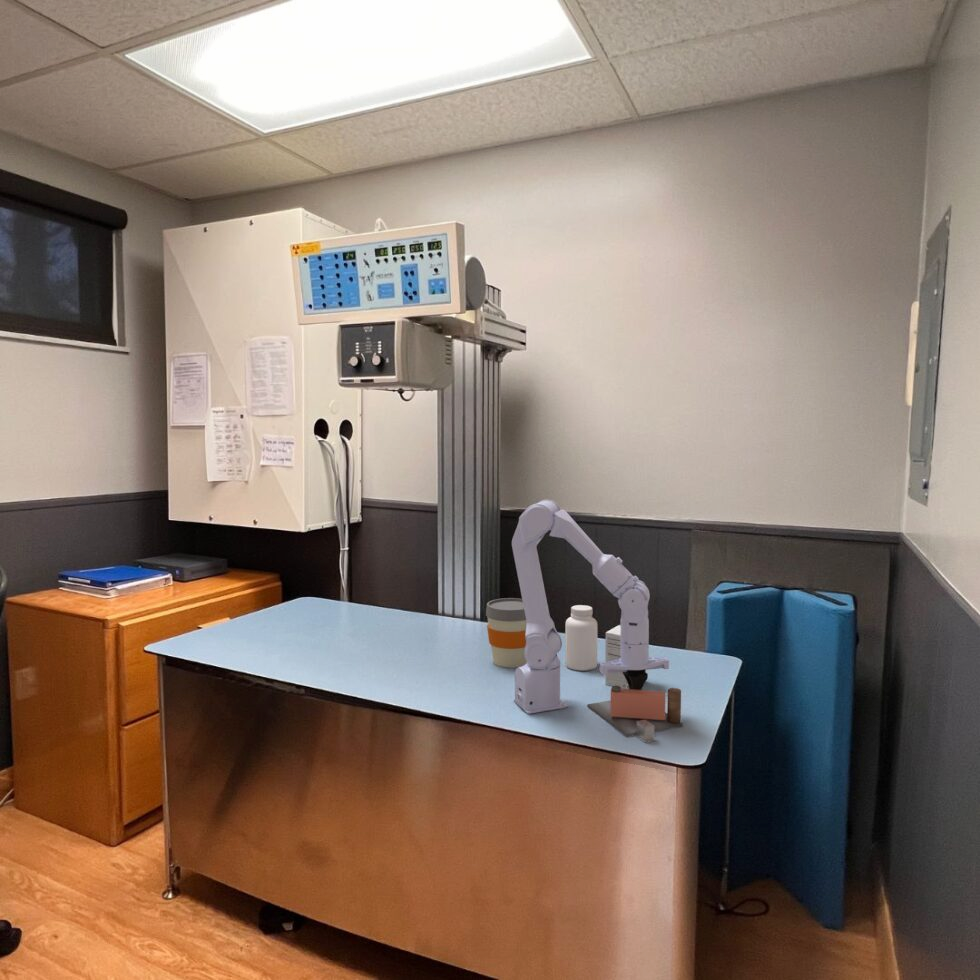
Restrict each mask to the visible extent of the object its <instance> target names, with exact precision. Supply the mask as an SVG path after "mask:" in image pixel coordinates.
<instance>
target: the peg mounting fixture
mask: <svg viewBox="0 0 980 980" xmlns="http://www.w3.org/2000/svg"><path fill="white" fill-rule="evenodd" d="M586 705H587V708H588V709H589V710H591V711H592V712H593V713H595V715H596V716H598V717H600V718H601V719H602V720H604V721H605V722H606V723H608V724H609V725H610V726H611V727H612V728H614V729H615V730H617V731H618V732H619V733H621V734H622V735H624V737H626V738H628V737H634V736H637V721H641V720H647V721H648V722H650V723H651V724H653V725H654V733H655V732H659V731H660V732H661V731H664V730H670V729H676V728H680V727H683V724H684V723H683V722H682V720H681V716H682V714H681V713H682V690H681V689H680V688H678V687H677V688H676V687H669V688H668V689H667V707H666V708H667V712H666V711H665V720H656V719H642V718H627V717H612V716H610V709H611V699H609V700H605V701H604V700H603V701H598V702H593V703H588V704H586Z"/></svg>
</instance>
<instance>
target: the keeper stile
mask: <svg viewBox="0 0 980 980" xmlns="http://www.w3.org/2000/svg"><path fill="white" fill-rule="evenodd" d="M636 737H637V738H639V740H641V741H642V742H644V743H645V744H647V743H650V742H655V732H654V725H653V724H651V723H650V722H648V721H647V720H641V721H637V735H636Z"/></svg>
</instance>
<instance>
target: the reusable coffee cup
mask: <svg viewBox="0 0 980 980" xmlns="http://www.w3.org/2000/svg"><path fill="white" fill-rule="evenodd" d="M485 616H486V617H487V623H488V624H487V626H486V627H487V636H488V643H489V644H490V646H491V647H490V648H491V653H492V661H493V663H494V664H495V665H496V666H499V667H501V668H518V667H521V666H524V665H525V664H527V661H526V659H525V655H524V651H525V647H526V637H525V634H526V627H527V621H526V616H525V610H524V605H523V600H522V598H519V597H518V598H516V597H515V598H514V597H507V598H505V597H504V598H497V599H493V600H489V601H488V602H487V603H486V610H485Z"/></svg>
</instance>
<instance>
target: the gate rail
mask: <svg viewBox="0 0 980 980" xmlns="http://www.w3.org/2000/svg"><path fill="white" fill-rule="evenodd" d="M610 700H611V709H610V716H612V717H627V718H642V719H656V720H665V712H666V691H665V690H664V691H663V690H645V689H641V690H633V689H622V688H621V687H620V686H611V688H610Z"/></svg>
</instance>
